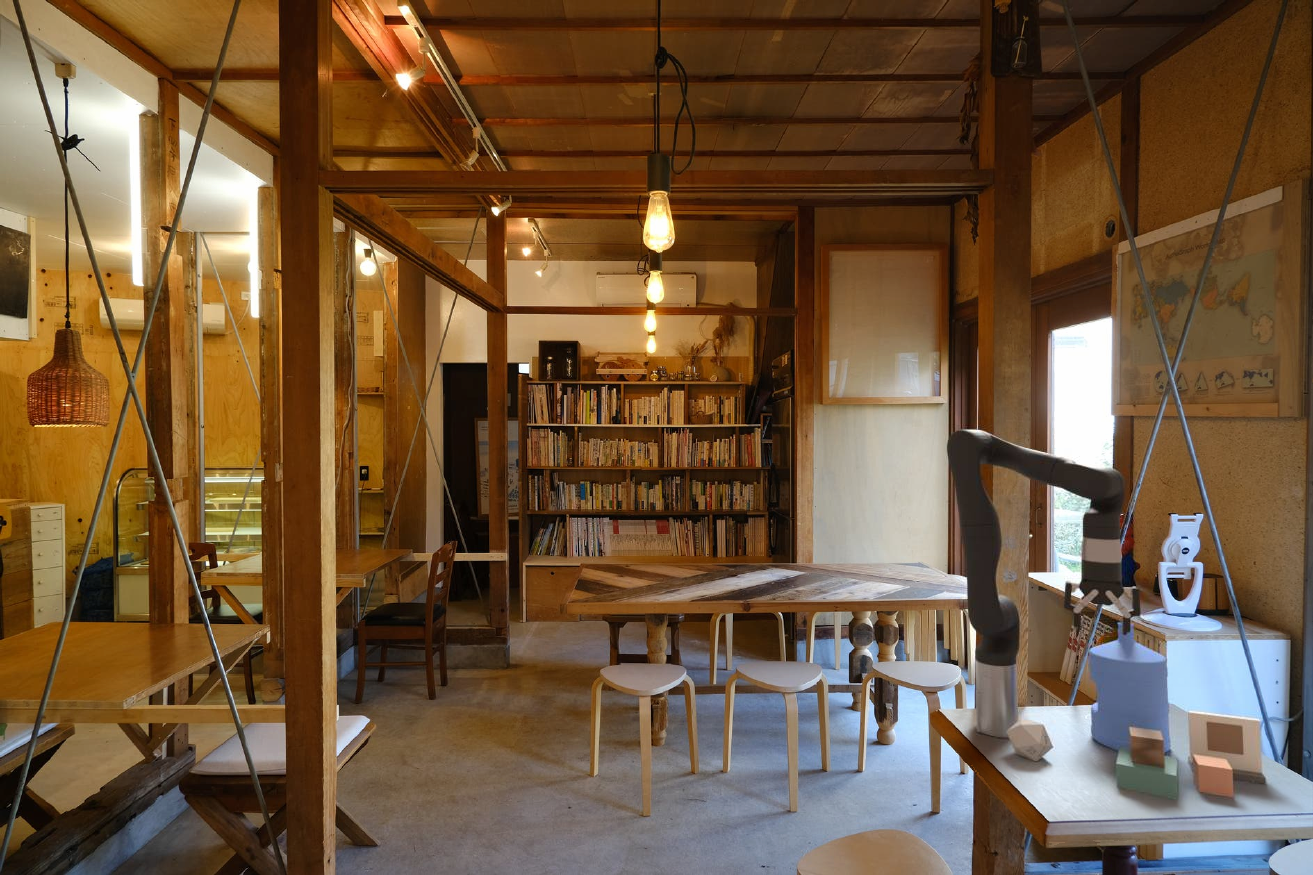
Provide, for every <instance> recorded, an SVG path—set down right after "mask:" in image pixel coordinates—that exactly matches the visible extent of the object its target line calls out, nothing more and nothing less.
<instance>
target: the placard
mask: <svg viewBox="0 0 1313 875" xmlns="http://www.w3.org/2000/svg"><path fill="white" fill-rule="evenodd" d="M1187 712H1188V717H1187V718H1188V737H1189V738H1188V742H1189V756H1187V762H1188V764H1189V766H1190V768H1191V770H1192V771H1193V754H1194V755H1201V756H1208V757H1215V758H1222V759H1226V760H1227V762H1228V763H1229V765H1230V766H1231V768H1232V770H1233V780H1237V779H1240V780H1239V781H1244V780H1245V782H1250V781H1254V782H1253V783H1257V782H1259V783H1258V784H1264V783H1266V784H1267V779H1266V776H1265V775H1264V773H1263V764H1262V762H1263V761H1262V738H1261V736H1262V734H1261V720H1260V719H1259V718H1253V717H1244V716H1237V715H1236V716H1235V715H1230V714H1229V715H1228V714H1219V713H1212V712H1202V711H1194V710H1188V711H1187ZM1246 780H1247V781H1246Z"/></svg>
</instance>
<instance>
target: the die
mask: <svg viewBox="0 0 1313 875" xmlns="http://www.w3.org/2000/svg"><path fill="white" fill-rule="evenodd" d="M1006 732H1007V734H1008V737H1009V738H1008V739H1009V741H1010V744H1011V745H1012V748H1013V750H1014V753H1015V754H1016V755H1018V756H1021V757H1024V758H1026V759H1028V760H1031V761H1033V762H1038V761H1039V760H1040V759H1042V757H1044V756H1046V754H1048V752H1050V751H1051V750H1052V749H1053V748H1054V746H1053V744H1052V741H1051V739H1050V736H1049V734H1048V731H1047V730H1046V727H1045V725H1044V724H1042V723H1041V722H1037V721H1034V720H1031V719H1029V718H1025V717H1021V718H1020V719H1018V722H1017V723H1016V724H1014V725H1013V726H1012V727H1011V728H1010V729H1008V730H1007V731H1006Z"/></svg>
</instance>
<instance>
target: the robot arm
mask: <svg viewBox="0 0 1313 875" xmlns="http://www.w3.org/2000/svg"><path fill="white" fill-rule="evenodd" d="M946 454H947V458H948V463H949V466H950V472H951V476H952V480H953V483H954V490H955V496H956V503H957V504H956V505H957V510H958V518H959V520H958V521H959V527H960V536H961V541H962V548H963V549H962V550H963V558H964V566H965V571H966V572H965V574H966V587H967V588H966V590H967V594H966V595H967V596H966V597H967V599H966V600H967V602H966V604H967V615H968V621H969V623H970V625H971V627H972V628H973V630H975V632H976V633H978V634H979V635H981V639H980V642H979V643H978V645H977V646H976V647H975V650H974V653H975V654H974V655H975V657H974V658H975V660H974V661H975V684H976V685H975V686H976V687H975V688H976V690H975V713H976V714H975V715H976V718H975V719H976V732H977V733H980V734H981V733H982V734H985V735H987V736H991V737H996V738H1003V739H1004V738H1007V739H1009V737H1008V734H1007V732H1006V731H1007V730H1008V729H1010V728H1011V727H1012V726H1013V725H1014V724H1016V723H1017V722H1018V721H1019V705H1018V704H1019V703H1018V675H1017V674H1018V672H1017V655H1018V653H1019V651H1020V629H1021V628H1020V626H1021V625H1020V614H1019V610H1018V608H1017V605H1016V604H1015V602H1014V601H1013V600H1012V599H1011V598H1010V597H1008V596H1005V595H1003V594H999V593H998V587H997V571H998V570H997V569H998V566H999V561H1000V558H1001V552H1002V548H1003V546H1002V545H1003V540H1002V539H1003V538H1002V536H1003V535H1002V531H1001V523H1000V522H1001V521H1000V518H999V514H998V512H997V509H996V508H995V505H994V503H993V502H992V500H991V498H990V497H989V494H988V493H987V490H986V489H985V486H984V482H983V479H982V471H981V465H987V466H994V467H1002V468H1004V469H1009V470H1011V471H1013V472H1016V473H1018V474H1020V475H1022V476H1023V477H1026V478H1028V479H1030V480H1033V481H1035V482H1039V483H1042V484H1045V485H1048V486H1051V487H1052V486H1053V487H1055V488H1060V489H1063V490H1064V491H1066V492H1069V493H1071V494H1074V495H1076V496H1078V497H1080V498H1081V497H1082V498H1083V499H1087V500H1090V503H1089V509H1088V510H1087V511H1086V512H1084V514H1083V517H1082V541H1081V548H1080V549H1081V550H1080V551H1081V553H1080V556H1081V559H1080V560H1081V563H1080V564H1081V566H1080V567H1081V570H1080V573H1081V579H1080V582H1079V583H1076V582H1071V581H1070V580H1068V581H1067V580H1066V581H1065V584H1064V594H1063V595H1064V597H1063V606H1064V609H1065V610H1068V611H1071V612H1072V613H1073V614H1072V615H1073V618H1072V619H1073V621H1072V622H1073V626H1074V628H1076V630H1077V631H1081V630H1082V612H1081V611H1082V610H1083V609H1084V608H1085V607H1087V605H1088V604H1092V605H1097V606H1098V605H1102V606H1103V605H1104V606H1107V607H1110V606H1112V605H1114V606H1115V607H1116V609H1117V610H1118V611H1120V613H1121V614H1122V616H1121V622H1122V634H1123V635H1127V633H1129V632H1130V623H1131V620H1132V618H1133V617H1140V616H1141V611H1142V610H1141V603H1140V602H1141V600H1140V590H1139V589H1138V587H1137V586H1131V587H1130V586H1129V587H1127V586H1126V587H1124V586H1123V582H1122V559H1123V555H1122V545H1121V521H1120V520H1121V515H1122V511H1123V508H1124V507H1123V506H1124V502H1125V498H1126V483H1125V482H1126V481H1125V479H1124V476H1123V475H1122V474H1121V472H1120V471H1118V470H1116V469H1115V468H1111V467H1091V466H1087V465H1083V464H1079V463H1077V462H1076V461H1074V460H1072V459H1070V458H1067V457H1063V456H1060V455H1056V454H1051V453H1049V452H1043V451H1039V450H1036V449H1031V448H1026V447H1023V446H1020V445H1017V444H1014V443H1012V442H1009V441H1007V440H1003V438H1000V437H997V436H995V435H993V434H991V433H989V432H987V431H984V430H981V429H958V430H955V431H953V432H952V433H951V434H950V436H949V437H948V440H947V443H946ZM1077 589H1079V591H1080V592H1081V593H1082V594H1083V595H1082V596H1081V598H1079V600H1078V601H1077V602H1076V603H1075V604H1072V593H1073V594H1074V593H1075V592H1076V591H1077ZM1124 593H1125V594H1127V597H1128V598H1130V599H1131V606H1132V609H1127V608H1126V606H1124V604H1123V603H1122V602H1121V600H1120V598H1121V597H1122V595H1124Z"/></svg>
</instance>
